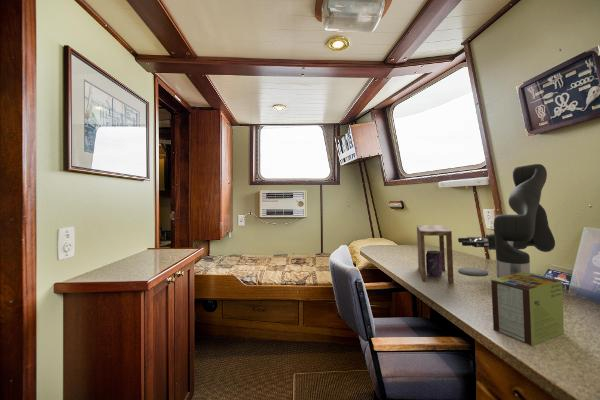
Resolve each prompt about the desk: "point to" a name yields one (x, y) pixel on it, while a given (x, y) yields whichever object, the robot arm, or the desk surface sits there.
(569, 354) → the desk surface
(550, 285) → the protein box
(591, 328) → the desk surface
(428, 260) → the beverage can
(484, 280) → the desk surface
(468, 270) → the charcoal mat
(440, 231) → the walnut shelf
